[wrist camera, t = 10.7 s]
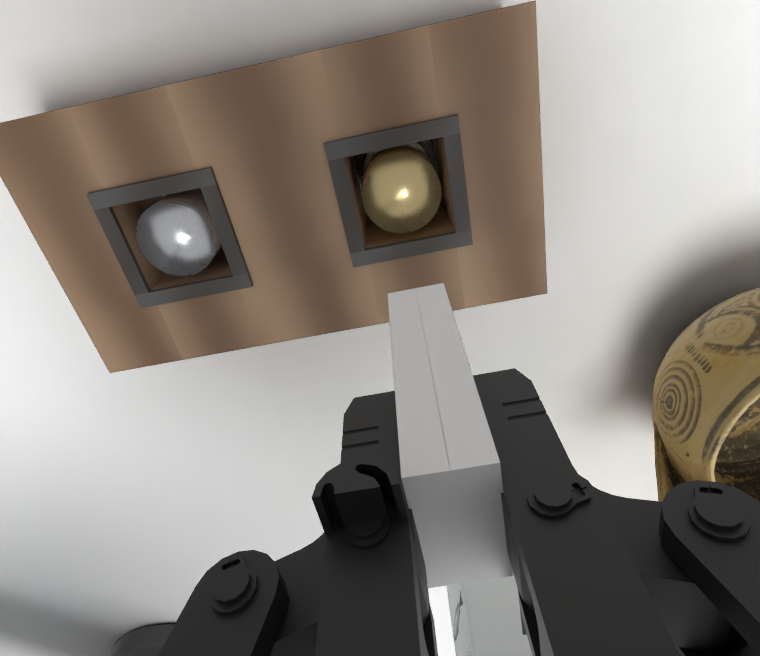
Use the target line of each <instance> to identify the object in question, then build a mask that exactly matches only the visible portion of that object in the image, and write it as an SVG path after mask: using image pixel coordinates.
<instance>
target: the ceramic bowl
mask: <svg viewBox="0 0 760 656" xmlns="http://www.w3.org/2000/svg"><path fill="white" fill-rule="evenodd" d="M652 419H653V425H654V441H655V468H656V478H657V487H658V500H659V502H663V500H664V497H665V495H666V493H667V491H669V490H671V489H672V488H674V487H675V486H677V485H678V484H680V483H685V482H691V481H696V480H701V481H711V482H719V483H722V484H725V485H728V486H731V487H734V488H737V489H740V490H742V491H743V492H745V493H746V494H748V495H750V496H751V497H753V498H755V499H756V500H758V501H759V502H760V287H759V288H756V289H752V290H749V291H746V292H743V293H741V294H738V295H736V296H734V297H731V298H729V299H727V300H725V301H723V302H721V303H719V304H718V305H716V306H714V307H713V308H711V309H710V310H708V311H706V312H705V313H704V314H702V315H701V316H700V317H698V318H697V319H695V320H694V321H693V322H692V323H691V324H690V325H689V326H688V327H687V328H686V329H685V330H684V331H683V332H682V333H681V334H680V335H679V336H678V337H677V339H676V340H675V341H674V342H673V344H672V345H671V346H670V348H669V350H668V351H667V353H666V355H665V357H664V359H663V361H662V363H661V365H660V367H659V369H658V372H657V375H656V378H655V383H654V388H653V401H652Z"/></svg>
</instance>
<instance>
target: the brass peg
mask: <svg viewBox="0 0 760 656" xmlns="http://www.w3.org/2000/svg"><path fill="white" fill-rule="evenodd" d="M362 201H363V205H364V208H365V211H366V213H367V215H368V216H369V218H370V219H371V220H372V221H373V222H374V223H375V224H376V225H377V226H379V227H380V228H382V229H384V230H386V231H389V232H393V233H409V232H413V231H415V230H418V229H420V228H422V227H423V226H424V225H426V224H427V223H428V222H429V221H430V220H431V219H432V218H433V217H434V215H435V214H436V212H437V210H438V208H439V205H440V201H441V184H440V180H439V177H438V175H437V173H436V171H435V170H434V168H433V166H432V164H431V162H430V160H429V158H428V156H427V154H426V152H425V151H424V149H423V148H422V147H421V146H420V145H419V144H418V143H417V142H416V143H411V144H406V145H401V146H397V147H392V148H387V149H382V150H378V151H373V152H368V154H367V156H366V159H365V162H364V167H363V183H362Z"/></svg>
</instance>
